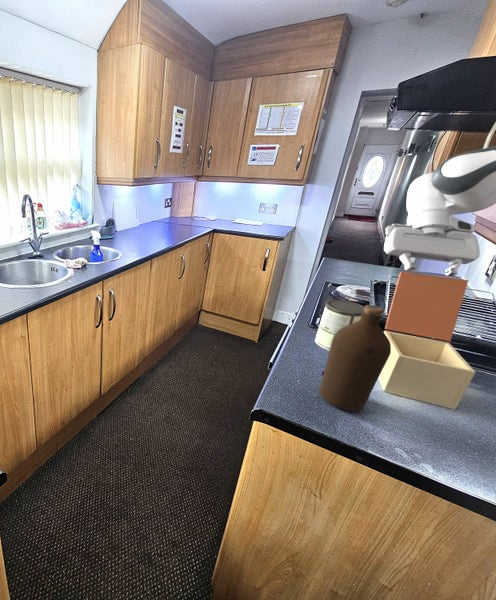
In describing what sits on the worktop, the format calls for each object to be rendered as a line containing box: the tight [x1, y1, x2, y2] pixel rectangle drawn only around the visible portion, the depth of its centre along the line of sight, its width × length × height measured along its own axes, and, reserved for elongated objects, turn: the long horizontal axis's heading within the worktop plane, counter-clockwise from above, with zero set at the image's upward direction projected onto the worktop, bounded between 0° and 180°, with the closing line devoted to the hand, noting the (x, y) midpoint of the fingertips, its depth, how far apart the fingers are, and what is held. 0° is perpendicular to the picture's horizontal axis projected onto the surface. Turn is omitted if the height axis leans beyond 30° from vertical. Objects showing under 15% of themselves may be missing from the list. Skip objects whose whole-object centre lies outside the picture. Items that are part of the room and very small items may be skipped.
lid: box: [384, 271, 469, 342], centre depth 89 cm, size 16×14×1 cm
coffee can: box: [314, 298, 365, 351], centre depth 103 cm, size 10×10×14 cm
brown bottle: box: [318, 304, 391, 412], centre depth 76 cm, size 11×11×25 cm
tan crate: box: [377, 330, 476, 410], centre depth 86 cm, size 16×14×11 cm
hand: (430, 272), depth 88 cm, fingers open, 8 cm apart
